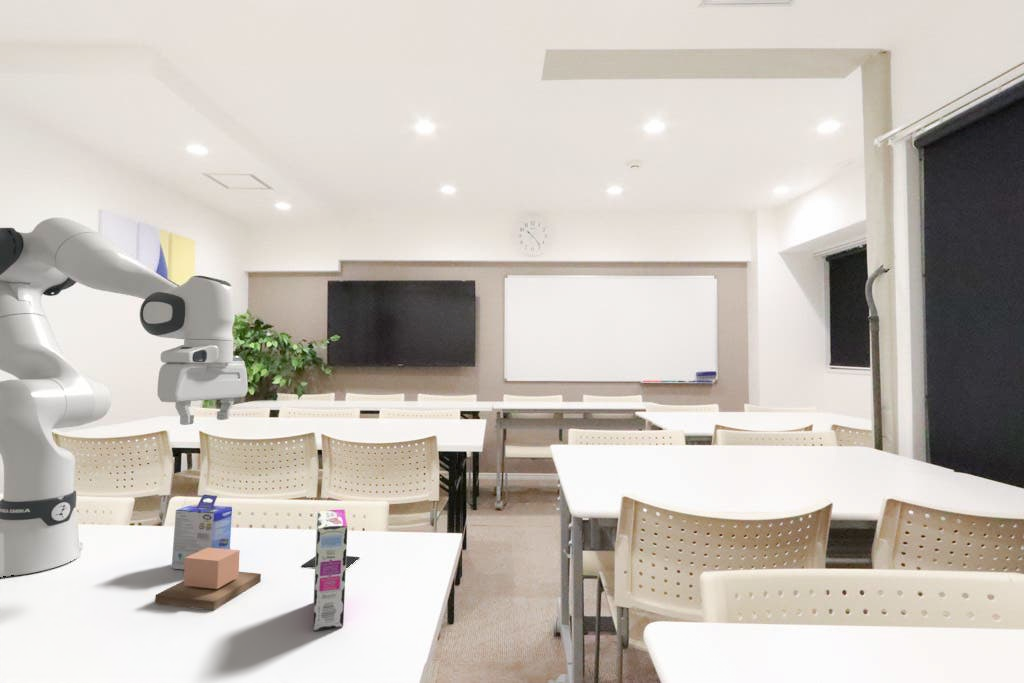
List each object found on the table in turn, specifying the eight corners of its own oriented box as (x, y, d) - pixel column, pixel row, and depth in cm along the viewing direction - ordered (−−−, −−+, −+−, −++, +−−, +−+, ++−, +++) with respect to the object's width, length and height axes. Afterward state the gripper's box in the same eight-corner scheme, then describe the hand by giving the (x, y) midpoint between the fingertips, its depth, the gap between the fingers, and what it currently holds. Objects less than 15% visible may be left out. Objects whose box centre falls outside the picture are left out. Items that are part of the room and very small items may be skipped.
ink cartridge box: (231, 563, 108) (234, 495, 109) (211, 574, 103) (214, 501, 103) (192, 559, 110) (195, 492, 111) (170, 569, 105) (173, 498, 105)
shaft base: (214, 610, 87) (215, 575, 88) (155, 603, 90) (156, 569, 90) (260, 581, 99) (261, 550, 100) (207, 576, 101) (208, 545, 102)
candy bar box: (345, 627, 82) (348, 525, 83) (312, 632, 81) (315, 528, 81) (342, 597, 93) (345, 507, 94) (313, 601, 91) (316, 510, 92)
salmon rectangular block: (217, 588, 91) (218, 560, 91) (183, 585, 92) (185, 557, 93) (238, 576, 97) (239, 550, 97) (206, 573, 98) (207, 547, 98)
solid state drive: (344, 572, 105) (344, 569, 105) (300, 568, 107) (301, 565, 107) (360, 560, 112) (360, 557, 112) (319, 556, 114) (319, 553, 114)
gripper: (231, 355, 115) (229, 416, 114) (152, 352, 95) (148, 426, 94) (256, 356, 114) (253, 417, 113) (181, 353, 93) (177, 428, 93)
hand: (205, 421), depth 103 cm, fingers open, 8 cm apart
